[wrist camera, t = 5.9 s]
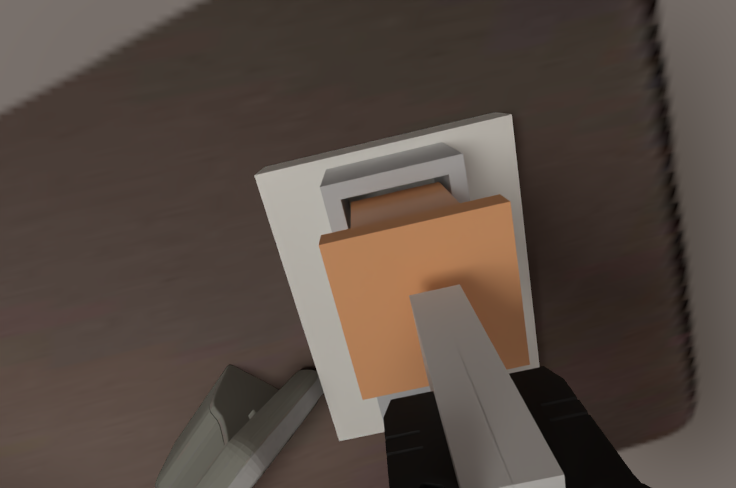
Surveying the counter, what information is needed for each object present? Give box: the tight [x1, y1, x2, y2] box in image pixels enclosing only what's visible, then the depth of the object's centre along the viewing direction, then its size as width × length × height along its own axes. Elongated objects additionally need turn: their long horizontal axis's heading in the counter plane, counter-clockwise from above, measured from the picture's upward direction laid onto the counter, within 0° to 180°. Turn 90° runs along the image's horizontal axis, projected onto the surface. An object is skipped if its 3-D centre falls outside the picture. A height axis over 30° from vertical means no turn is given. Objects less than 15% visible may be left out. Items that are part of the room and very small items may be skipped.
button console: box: [254, 112, 540, 441], centre depth 27 cm, size 15×20×8 cm
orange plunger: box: [319, 182, 530, 400], centre depth 18 cm, size 6×6×8 cm
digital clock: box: [155, 365, 324, 488], centre depth 29 cm, size 16×9×11 cm, turn 134°
